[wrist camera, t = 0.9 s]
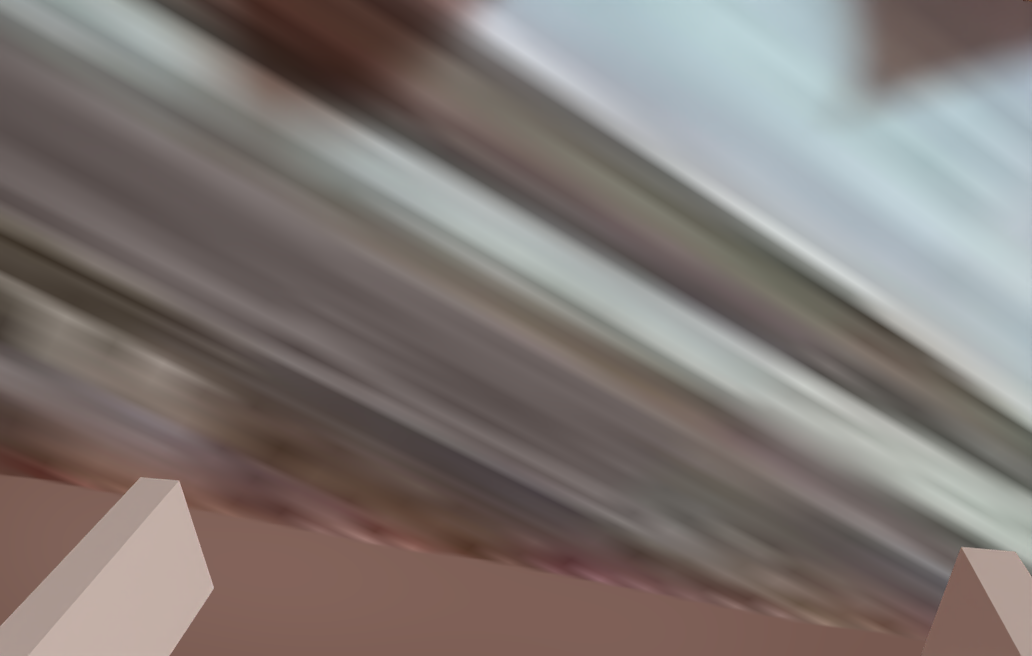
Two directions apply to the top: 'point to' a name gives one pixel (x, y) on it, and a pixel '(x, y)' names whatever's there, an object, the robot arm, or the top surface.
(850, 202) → the top surface
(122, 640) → the robot arm
